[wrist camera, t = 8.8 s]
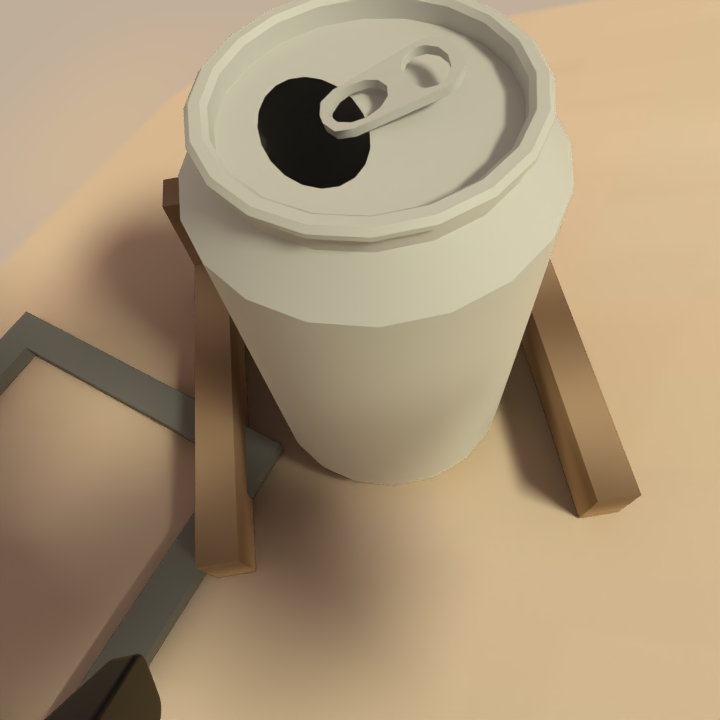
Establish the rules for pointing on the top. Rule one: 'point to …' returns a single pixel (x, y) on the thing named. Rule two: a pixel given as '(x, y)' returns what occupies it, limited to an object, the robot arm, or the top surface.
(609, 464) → the dock
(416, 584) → the top surface
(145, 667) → the robot arm
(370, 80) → the can
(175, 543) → the holster frame
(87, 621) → the top surface
